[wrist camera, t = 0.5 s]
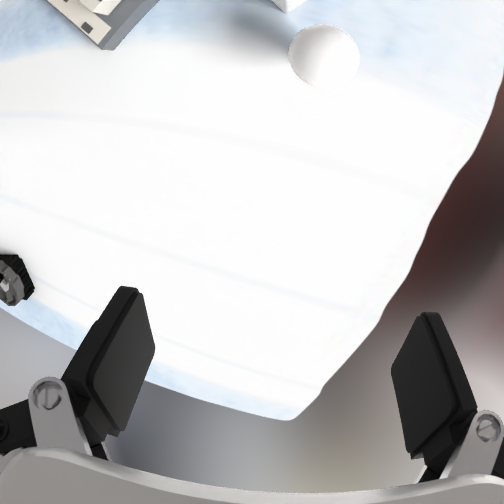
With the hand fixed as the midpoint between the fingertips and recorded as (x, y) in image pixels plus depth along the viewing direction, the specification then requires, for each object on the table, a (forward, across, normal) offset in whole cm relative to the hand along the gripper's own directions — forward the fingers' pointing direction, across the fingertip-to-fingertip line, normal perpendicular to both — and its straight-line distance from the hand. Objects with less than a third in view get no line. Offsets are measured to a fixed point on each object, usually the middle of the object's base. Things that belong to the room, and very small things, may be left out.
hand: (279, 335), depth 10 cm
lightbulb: (+30, -3, -10) cm, 32 cm away
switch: (+27, +21, -19) cm, 39 cm away
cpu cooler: (+30, +53, +26) cm, 66 cm away
